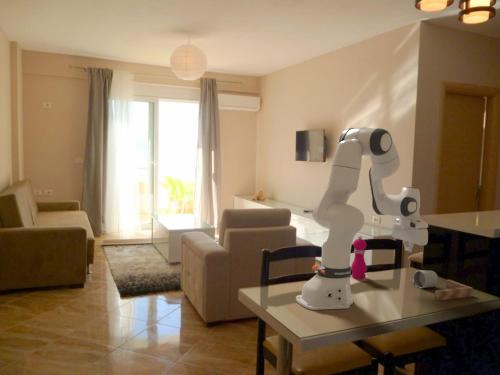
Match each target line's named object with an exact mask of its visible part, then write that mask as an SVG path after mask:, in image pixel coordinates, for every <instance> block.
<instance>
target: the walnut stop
mask: <svg viewBox="0 0 500 375" xmlns="http://www.w3.org/2000/svg"><path fill="white" fill-rule="evenodd" d="M473 289H474V288H473V287H471V286H468V285H465V284H464V283H460V282H457V281H456V280H455V281H454V280H452V279H446V280H445V289H437V290H436V289H435V291H434V300H436V301H445V300H455V299H461V298H462V299H463V298H470V297H473V292H474V291H473Z"/></svg>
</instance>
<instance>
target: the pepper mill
mask: <svg viewBox="0 0 500 375" xmlns="http://www.w3.org/2000/svg"><path fill="white" fill-rule="evenodd" d="M352 245H353V248H354V249H353V250H354V251H353V253H354V258H353V261H352V262H351V265H350V266H351V277H352V278H353V279H355V280H364V279H366V275H367V274H366V273H367V271H368V267H367V263H366V260H365V253H366V249H367V242H366V241H365V240H364V239H363V237H362V235H358V237H357V239H355V240H353V242H352Z"/></svg>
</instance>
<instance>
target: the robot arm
mask: <svg viewBox="0 0 500 375" xmlns="http://www.w3.org/2000/svg"><path fill="white" fill-rule="evenodd" d="M338 142H339V143H338V145H337V147H336V150H335V152H334V156H333V160H332V165H331V167H330V174H329V177H328V178H329V179H328V183H327V187H326V190H325V191H324V193H323V196H322V197H321V199H320V201H319V202H317V203H316V205H315V206H314V207H313V208H312V209H313V210H312V219H313V220H314V222H315V223H317V224H318V225H319V226H321V227H322V228H325V229H329V232H328V237H327V239H326V241H324V242H323V244H322V245H321V263H320V265H319V266H318V265H316V264H314V265H312V270H313V271H315V272H317V273H316V274H315V275H314V276H313V277H311V278H310V279H309V280H308V281H306V282H305V283H304V284H303V286H302V289H301V294H299V295H296V296H295V301H296V302H297V303H298V304H299V305H300V306H302V307H303V308H306V309H308V310H311V311H317V310H319V311H321V310H341V309H342V310H343V309H350V308H351V306H352V305H353V303H354V299H353V296H352V291H351V277H352V270H351V266H352V265H351V250H352V245H353V243H354V239H355V237H356V235H357V233H359V232H360V231H361V230H362V229H363V227H364V225H365V216H364V213H363V212H362V210H361V209H359V208H358V207H355V206H354V205H352V204H347V203H348V200H350V197H351V196H352V195H353V194H354V193H355V192H356V191H357V189H358V185H359V179H360V174H361V169H362V168H361V167H362V158H363V156H369V157H370V158H369V159H370V160H371V166H370V169H369V171H368V178H369V179H368V180H369V185H370V192H371V193H370V194H371V197H372V198H371V199H372V200H371V201H372V202H371V205H372V209H373V211H374V212H375V214H376V215H378V216H390V217H391V216H392V217H399V218H396V219H395V220H394V221H393V224H392V229H391V236H392V238H394V239H397V240H401V241H402V243H403V246H404V251H406V252H412V251H413V247H414V246H415V245H418V246H426V245H427V244H428V240H429V232H428V228H429V224H428V222H427V221H424V219H422V218H421V214H420V208H421V193H420V189H419V188H418V187H413V186H404V187H402V188H401V190H400V193H398V194H389V193H386V192H385V191H384V186H383V180H384V179H386V178H389V177H391V176H393V175H394V174H395V173H396V172H397V171H398V170H399V168H400V165H401V164H400V163H401V160H400V155H399V153H398V150H397V147H396V145H395V143H394V141H393V139H392V135H391V133H390V132H389V131H388V130H387V129H384V128H380V127H379V128H377V127H376V128H374V127H373V128H372V127H356V128H355V127H350V128H347V129H345V130H343V131H342V132H341V134H340V136H339V141H338Z"/></svg>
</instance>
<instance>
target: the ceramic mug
mask: <svg viewBox="0 0 500 375" xmlns="http://www.w3.org/2000/svg"><path fill="white" fill-rule="evenodd" d="M412 278H413V279H412V283H413V284H414V285H415V286H416V287H417V288H418V287H419V289H426V288H433V287H436V286H437V285H438V283H439V276H438V274H437V273H436V272H435V271H433V270H429V269H428V270H427V269H426V270H421V269H420V270H416V271H415V272H414V273H413V277H412Z"/></svg>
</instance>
